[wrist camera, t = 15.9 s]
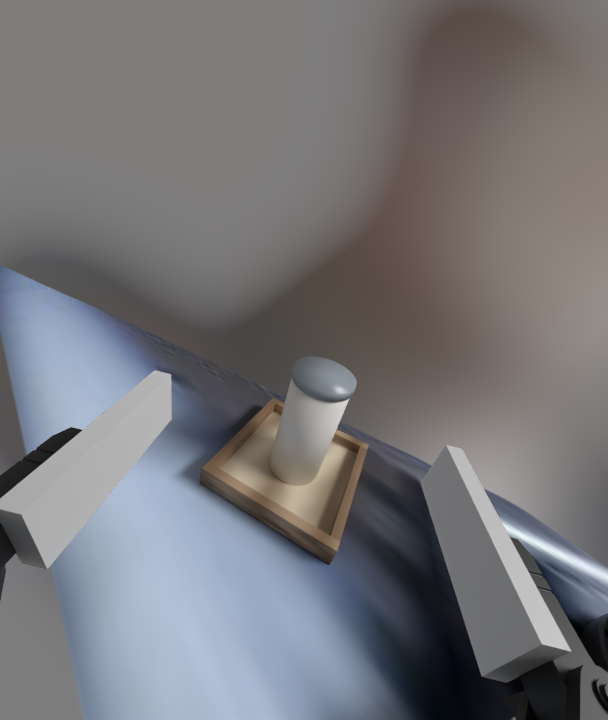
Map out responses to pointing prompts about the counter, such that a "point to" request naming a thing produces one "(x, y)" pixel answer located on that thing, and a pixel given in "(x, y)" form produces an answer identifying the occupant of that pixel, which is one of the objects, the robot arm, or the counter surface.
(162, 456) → the counter surface
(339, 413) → the canister
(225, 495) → the tray
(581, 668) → the robot arm
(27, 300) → the counter surface
